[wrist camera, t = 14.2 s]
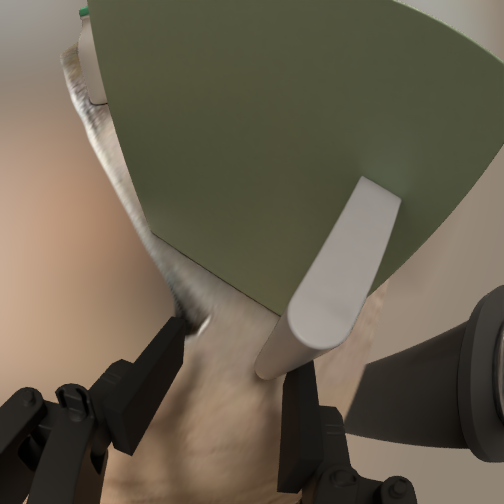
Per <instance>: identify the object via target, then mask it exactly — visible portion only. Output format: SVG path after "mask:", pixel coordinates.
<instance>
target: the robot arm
mask: <svg viewBox="0 0 504 504" xmlns="http://www.w3.org/2000/svg"><path fill="white" fill-rule="evenodd" d="M185 328H186V320H183V319H179V318H176V317H171V318H170V319H169V320H168V322H167V323H166V324H165V325H164V326H163V328H162V329H161V330H160V331H159V332H158V334H157V335H156V336H155V337H154V339H153V340H152V341H151V342H150V344H149V345H148V346H147V347H146V349H145V350H144V351H143V352H142V353H141V355H140V356H139V357H138V359H137V360H136V361H135V362H134V363H131V362H128V361H126V360H123V359H121V360H119V361H116V362H114V363H112V364H111V365H110V366H109V368H108V369H107V370H106V371H105V373H103V374H102V375H101V376H100V379H98V380H97V381H96V382H95V383H94V384H93V385H92V387H91V388H90V389H89V390H87V389H86V388H85V387H83V386H80V385H78V384H72V383H71V384H65V385H62V386H61V387H59V388H58V389H57V390H56V391H55V393H56V396H57V399H58V402H59V404H57V403H53V402H50V401H46V400H44V399H43V397H42V395H41V393H40V392H39V391H38V390H37V389H34V388H30V387H25V388H21V389H20V390H18V391H17V392H15V393H14V394H13V395H12V396H11V397H10V398H9V399H8V400H7V401H6V402H5V403H4V404H3V405H2V406H1V407H0V504H23V502H24V500H25V499H26V497H27V496H28V494H29V496H28V499H27V503H26V504H100V499H101V493H102V487H103V481H104V476H105V470H106V465H107V460H108V449H107V448H108V446H109V445H110V443H111V442H112V443H113V446H114V448H115V449H117V450H119V451H121V452H123V453H126V454H128V455H130V456H132V455H133V453H134V452H135V450H136V448H137V446H138V444H139V442H140V441H141V439H142V437H143V435H144V433H145V431H146V430H147V428H148V426H149V424H150V422H151V420H152V419H153V417H154V415H155V413H156V411H157V409H158V408H159V406H160V404H161V402H162V400H163V399H164V397H165V395H166V393H167V391H168V389H169V388H170V386H171V384H172V382H173V380H174V379H175V377H176V375H177V373H178V371H179V370H180V368H181V366H182V364H183V356H184V341H185ZM492 390H493V399H494V405H495V409H496V413H497V416H498V418H499V420H500V422H501V424H502V425H503V426H504V320H503V322H502V324H501V326H500V328H499V331H498V334H497V337H496V341H495V346H494V352H493V361H492ZM343 426H344V424H343V419H342V415H341V414H340V412H339V411H338V410H337V408H336V407H331V406H320V405H319V401H318V392H317V384H316V376H315V368H314V361H313V360H311V361H309V362H307V363H306V364H304V365H302V366H300V367H298V368H296V369H294V370H292V371H290V372H287V374H286V377H285V380H284V383H283V395H282V419H281V439H280V456H279V471H278V485H277V492H282V493H296V494H298V492H299V491H300V490H301V489H302V497H301V499H300V500H299V501H298V502H297V503H296V504H417V499H416V495H415V491H414V487H413V485H412V483H411V482H410V481H409V480H408V479H407V478H404V477H402V476H392V477H389V478H388V479H387V480H385V481H384V482H381V481H376V480H371V479H367V478H364V477H361V476H360V475H359V474H358V473H357V471H356V470H355V469H353V468H352V467H351V464H350V459H349V452H348V447H347V441H346V436H345V429H344V427H343Z"/></svg>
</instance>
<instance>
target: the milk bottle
mask: <svg viewBox="0 0 504 504" xmlns="http://www.w3.org/2000/svg"><path fill="white" fill-rule="evenodd" d="M79 14H80V19H81V20H82V30H81V35H80V38H79V42H78V54H79V60H80V64H81V69H82V73H83V77H84V81H85V84H86V88H87V91H88V95H89V98H90V101H91V102H92V103H93V104H104V103H108V102H107V98H106V94H105V91H104V87H103V82H102V78H101V74H100V70H99V65H98V61H97V56H96V51H95V46H94V41H93V35H92V29H91V23H90V17H89V10H88V6H86V7H84V8H82V9H80V10H79Z"/></svg>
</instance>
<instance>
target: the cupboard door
mask: <svg viewBox="0 0 504 504" xmlns="http://www.w3.org/2000/svg"><path fill="white" fill-rule="evenodd" d="M87 2H88V10H89V17H90V23H91V29H92V35H93V41H94V46H95V51H96V56H97V61H98V65H99V70H100V74H101V78H102V82H103V87H104V91H105V94H106V98H107V102H108V106H109V109H110V113H111V117H112V120H113V124H114V127H115V130H116V134H117V137H118V140H119V143H120V147H121V150H122V153H123V156H124V159H125V162H126V165H127V168H128V171H129V174H130V177H131V179H132V182H133V185H134V188H135V191H136V193H137V196H138V199H139V201H140V204H141V207H142V209H143V212H144V214H145V217H146V219H147V222H148V225H149V227H150V229H151V232H153V233H154V234H156V235H157V236H158V237H160V238H161V239H163V240H164V241H166V242H167V243H169V244H170V245H172V246H173V247H174V248H176V249H177V250H179V251H180V252H182V253H183V254H185V255H186V256H188V257H189V258H191V259H192V260H194V261H195V262H197V263H198V264H200V265H201V266H203V267H204V268H206V269H207V270H209V271H210V272H212V273H214V274H215V275H217V276H218V277H220V278H221V279H223V280H224V281H226V282H227V283H229V284H231V285H232V286H234V287H235V288H237V289H238V290H240V291H241V292H243V293H245V294H246V295H248V296H249V297H251V298H253V299H254V300H256V301H257V302H259V303H261V304H262V305H264V306H265V307H267V308H269V309H270V310H272V311H273V312H275V313H277V314H278V315H280V316H281V317H280V319H279V321H278V323H277V324H276V326H275V328H274V330H273V331H272V333H271V335H270V337H269V338H268V340H267V342H266V343H265V345H264V347H263V349H262V350H261V352H260V354H259V355H258V357H257V359H256V360H255V363H254V369H255V372H256V374H257V375H258V376H259V377H260V378H262V379H265V380H272V379H275V378H277V377H279V376H281V375H283V374H285V373H287V372H290V371H292V370H294V369H296V368H298V367H300V366H302V365H304V364H306V363H307V362H309V361H311V360H313V359H315V358H317V357H319V356H321V355H323V354H324V353H326V352H328V351H330V350H332V349H334V348H335V347H337V346H339V345H340V344H342V343H343V342H344V341H345V340H346V339H347V337H348V336H349V334H350V332H351V330H352V328H353V326H354V324H355V322H356V320H357V318H358V316H359V313H360V311H361V309H362V307H363V305H364V302H365V300H366V298H367V297H368V296H369V295H371V294H372V293H373V292H374V291H375V290H376V289H377V288H378V287H379V286H380V285H382V284H383V283H384V282H385V281H386V280H387V279H388V278H389V277H390V276H391V275H392V274H393V273H394V272H395V271H396V270H397V269H399V267H401V265H403V264H404V263H405V262H406V261H407V260H408V259H409V258H410V257H411V256H412V255H413V254H414V253H415V252H416V251H417V250H418V248H419V247H420V246H421V245H422V244H423V243H424V242H425V241H426V240H427V239H428V238H429V237H430V236H431V235H432V234H433V233H434V232H435V230H436V229H437V228H438V227H439V226H440V225H441V224H442V223H443V222H444V221H445V219H446V218H447V217H448V216H449V215H450V214H451V213H452V211H453V210H454V209H455V208H456V207H457V205H458V204H459V203H460V202H461V201H462V199H463V198H464V197H465V196H466V194H467V193H468V192H469V191H470V190H471V188H472V187H473V186H474V184H475V183H476V182H477V180H478V179H479V178H480V177H481V175H482V174H483V173H484V171H485V170H486V169H487V167H488V166H489V164H490V163H491V162H492V160H493V159H494V157H495V156H496V154H497V153H498V152H499V150H500V149H501V147H502V146H503V144H504V62H503V61H502V60H501V59H499V58H498V57H497V56H496V55H494V54H493V53H492V52H490V51H489V50H487V49H486V48H485V47H483V46H482V45H480V44H479V43H477V42H476V41H474V40H473V39H471V38H470V37H468V36H467V35H465V34H463V33H462V32H460V31H458V30H457V29H455V28H453V27H452V26H450V25H448V24H446V23H444V22H443V21H441V20H439V19H437V18H435V17H433V16H431V15H429V14H427V13H425V12H423V11H421V10H418V9H416V8H414V7H412V6H410V5H407V4H404V3H403V2H400V1H398V0H87Z"/></svg>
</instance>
